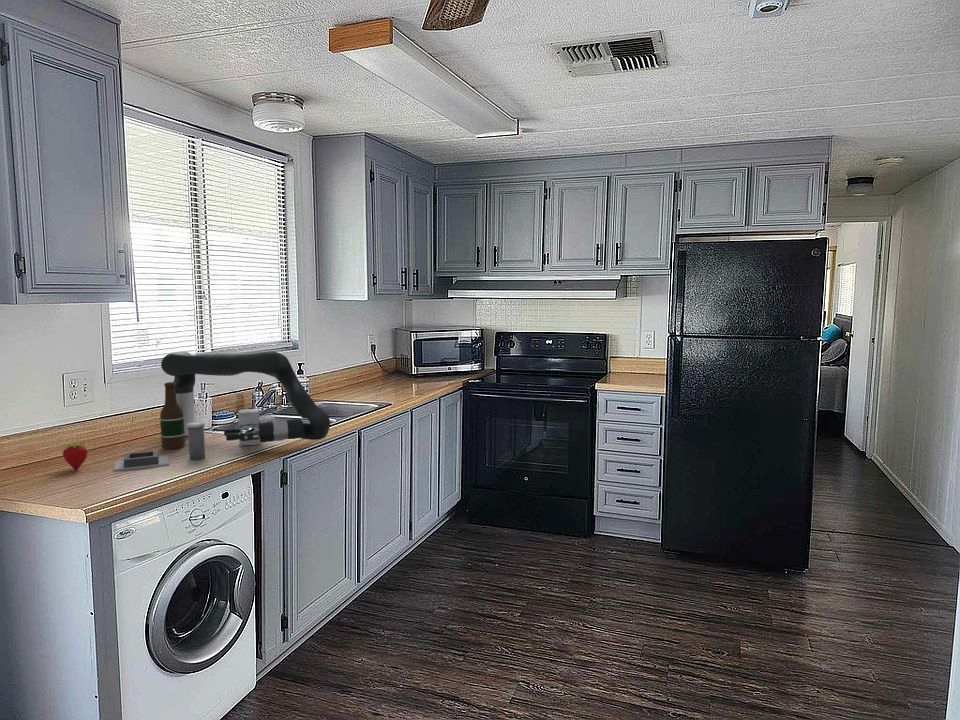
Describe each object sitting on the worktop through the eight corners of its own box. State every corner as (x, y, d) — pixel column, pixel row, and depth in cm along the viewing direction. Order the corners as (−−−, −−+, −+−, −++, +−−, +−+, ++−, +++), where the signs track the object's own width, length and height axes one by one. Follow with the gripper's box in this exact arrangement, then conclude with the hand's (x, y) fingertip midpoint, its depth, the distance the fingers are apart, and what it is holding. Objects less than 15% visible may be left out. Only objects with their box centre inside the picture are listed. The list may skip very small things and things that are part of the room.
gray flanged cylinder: (187, 457, 233) (185, 423, 232) (205, 455, 236) (204, 421, 234) (188, 461, 228) (186, 425, 227) (207, 459, 230) (205, 424, 229)
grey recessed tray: (115, 463, 227) (115, 453, 226) (168, 457, 233) (167, 448, 233) (113, 471, 216) (112, 461, 215) (168, 465, 222) (168, 456, 222)
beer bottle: (173, 450, 244) (169, 384, 242) (157, 449, 247) (153, 383, 244) (189, 445, 251) (186, 381, 249) (173, 444, 254) (169, 380, 252)
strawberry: (73, 466, 222) (71, 436, 221) (93, 467, 221) (91, 437, 220) (59, 471, 217) (56, 440, 216) (79, 472, 215) (77, 441, 214)
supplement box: (238, 446, 249) (237, 412, 248) (240, 442, 256) (238, 409, 255) (260, 445, 251) (258, 411, 250) (260, 440, 258) (259, 408, 257)
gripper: (270, 417, 248) (222, 421, 241) (276, 423, 235) (226, 428, 228) (270, 437, 249) (223, 441, 242) (276, 445, 236) (227, 449, 229)
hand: (225, 435), depth 235 cm, fingers open, 8 cm apart
